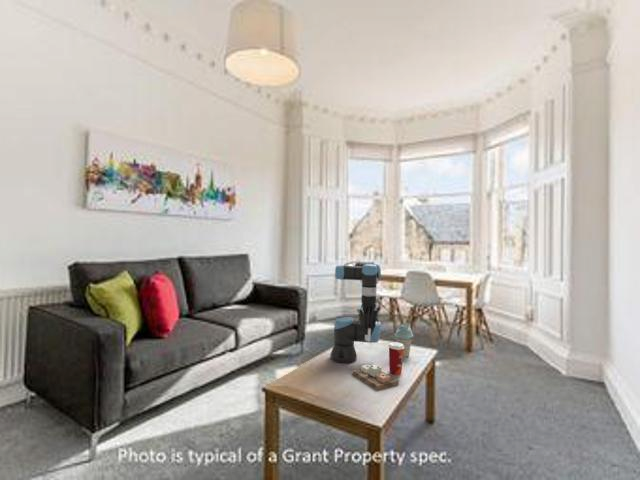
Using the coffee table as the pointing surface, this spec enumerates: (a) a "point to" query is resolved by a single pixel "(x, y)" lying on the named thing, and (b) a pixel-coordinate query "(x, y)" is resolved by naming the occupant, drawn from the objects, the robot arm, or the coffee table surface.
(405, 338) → the ice cream cone
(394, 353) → the coffee cup
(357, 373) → the tile board
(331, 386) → the coffee table surface
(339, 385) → the coffee table surface
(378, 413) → the coffee table surface
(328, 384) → the coffee table surface
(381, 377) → the tile three
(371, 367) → the tile two
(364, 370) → the tile one
